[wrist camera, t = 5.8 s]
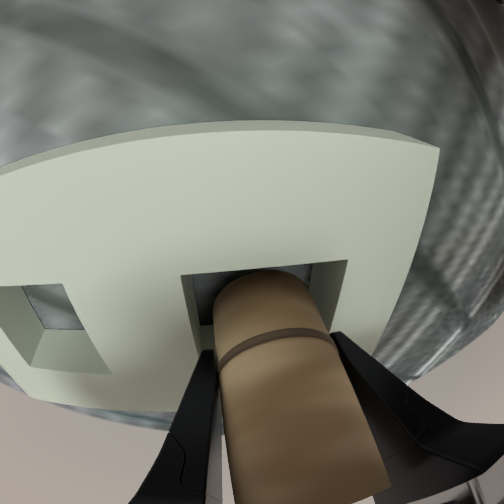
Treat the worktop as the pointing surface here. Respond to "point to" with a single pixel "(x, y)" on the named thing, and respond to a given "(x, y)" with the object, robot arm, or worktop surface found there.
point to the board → (197, 244)
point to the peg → (288, 399)
